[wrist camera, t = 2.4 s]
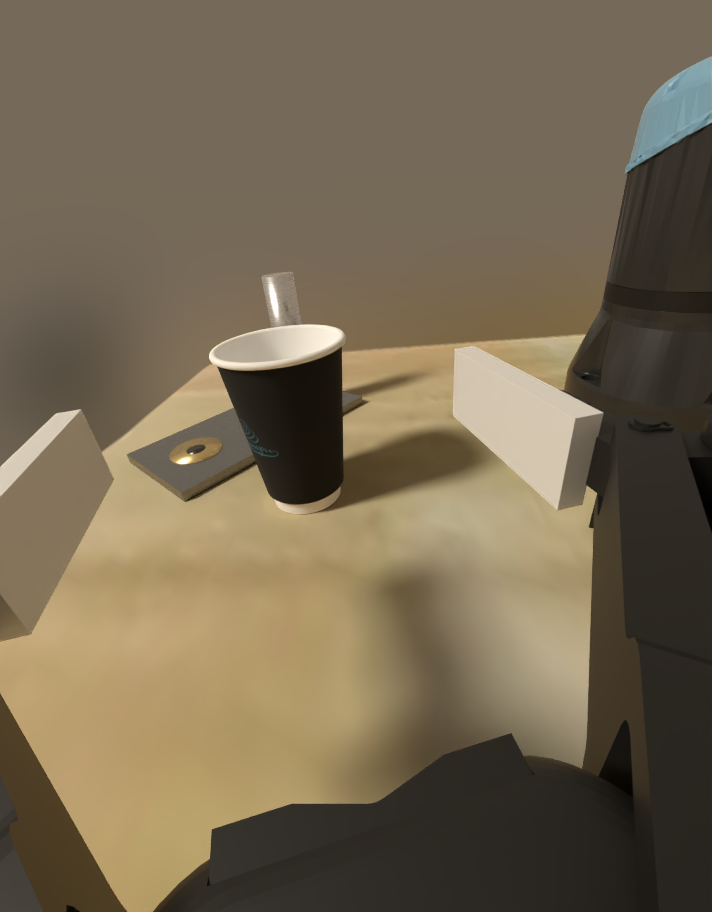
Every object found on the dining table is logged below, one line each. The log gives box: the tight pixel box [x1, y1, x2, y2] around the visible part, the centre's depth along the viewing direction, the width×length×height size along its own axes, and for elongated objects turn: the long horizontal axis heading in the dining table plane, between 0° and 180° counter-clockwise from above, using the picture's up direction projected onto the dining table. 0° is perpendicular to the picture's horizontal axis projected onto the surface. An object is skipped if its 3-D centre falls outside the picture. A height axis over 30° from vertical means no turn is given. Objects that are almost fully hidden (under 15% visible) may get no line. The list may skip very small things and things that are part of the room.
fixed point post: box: [262, 272, 302, 328], centre depth 39 cm, size 4×4×12 cm
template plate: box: [127, 391, 362, 501], centre depth 39 cm, size 20×10×1 cm, turn 138°
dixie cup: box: [209, 325, 346, 514], centre depth 27 cm, size 8×8×11 cm
